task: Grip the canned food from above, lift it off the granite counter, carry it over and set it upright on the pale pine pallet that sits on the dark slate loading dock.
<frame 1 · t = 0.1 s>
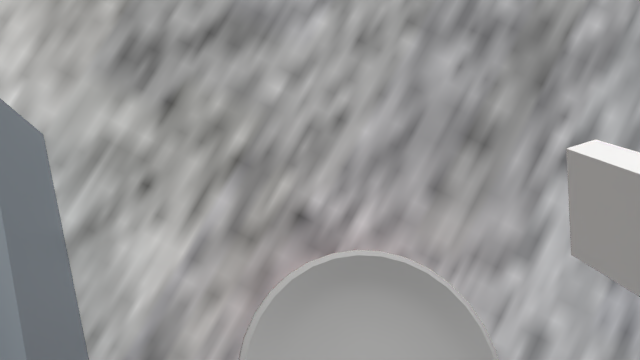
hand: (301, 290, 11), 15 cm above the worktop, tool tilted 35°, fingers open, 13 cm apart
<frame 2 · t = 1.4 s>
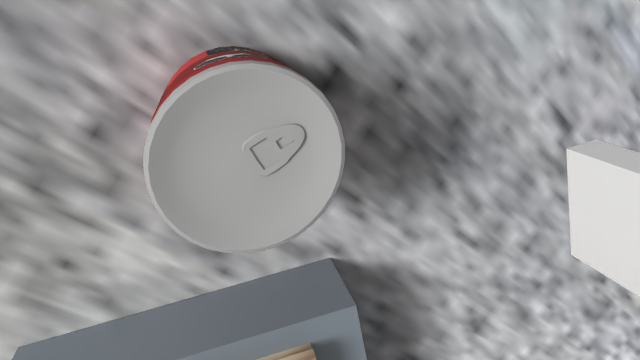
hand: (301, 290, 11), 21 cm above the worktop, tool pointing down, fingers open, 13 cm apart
canned food: (230, 112, 30), on the worktop
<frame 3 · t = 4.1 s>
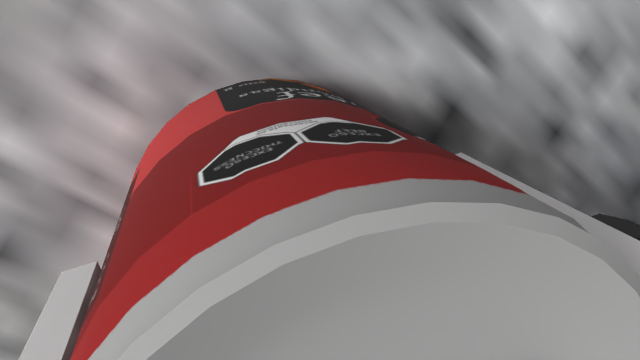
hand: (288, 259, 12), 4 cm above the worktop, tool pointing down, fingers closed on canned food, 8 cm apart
canned food: (262, 197, 16), on the worktop, touching gripper
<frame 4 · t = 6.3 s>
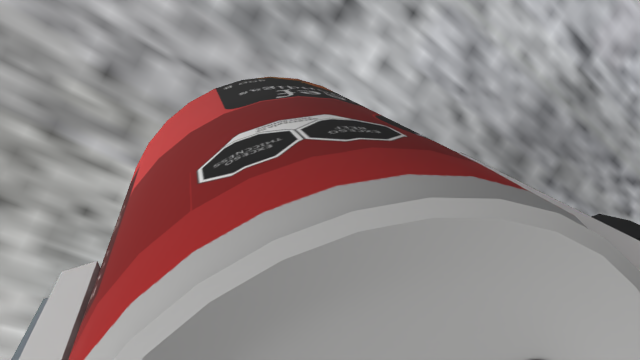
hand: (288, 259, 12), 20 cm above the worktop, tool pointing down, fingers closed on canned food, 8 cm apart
dock: (236, 334, 35), on the worktop
canned food: (262, 196, 16), point 15 cm above the worktop, touching gripper
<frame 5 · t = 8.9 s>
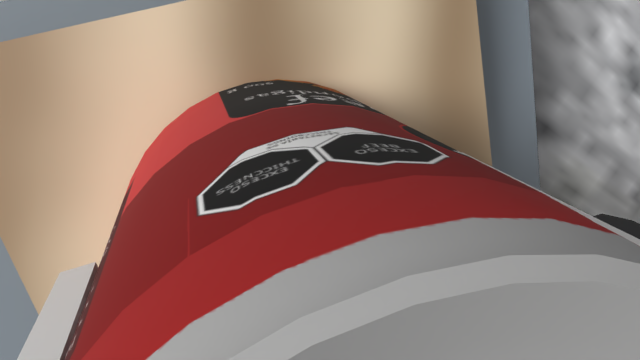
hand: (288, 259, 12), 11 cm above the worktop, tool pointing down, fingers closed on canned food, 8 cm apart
dock: (245, 143, 22), on the worktop
pallet: (264, 187, 17), resting on dock
canned food: (268, 207, 15), point 8 cm above the worktop, touching gripper, pallet
when the fingers open (11 cm above the worktop, at t = 9.6 s): canned food stays where it is, resting on pallet.
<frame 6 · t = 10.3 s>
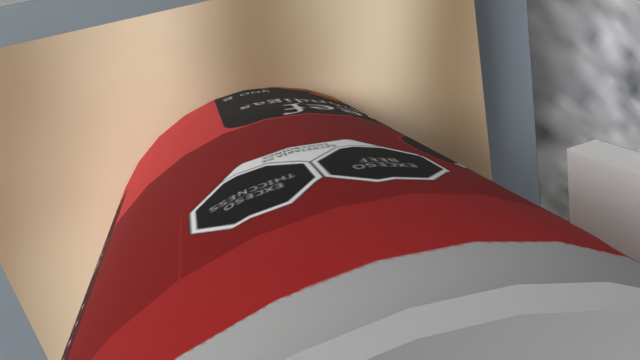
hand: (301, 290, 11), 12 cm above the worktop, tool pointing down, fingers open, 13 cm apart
dock: (242, 149, 22), on the worktop
pallet: (261, 194, 16), resting on dock
canned food: (265, 215, 15), point 8 cm above the worktop, touching pallet
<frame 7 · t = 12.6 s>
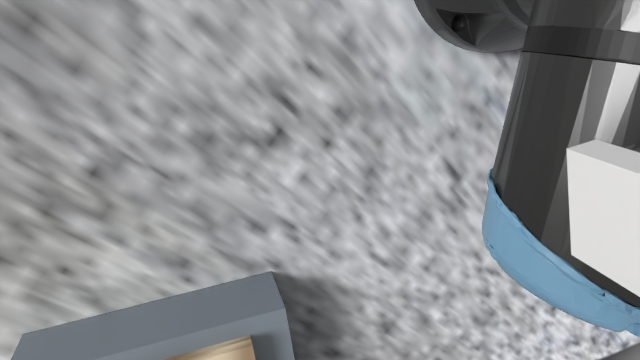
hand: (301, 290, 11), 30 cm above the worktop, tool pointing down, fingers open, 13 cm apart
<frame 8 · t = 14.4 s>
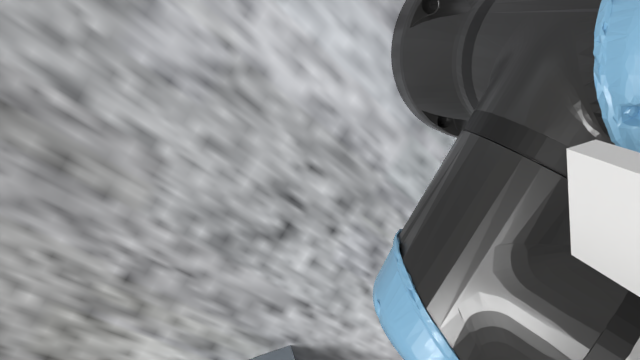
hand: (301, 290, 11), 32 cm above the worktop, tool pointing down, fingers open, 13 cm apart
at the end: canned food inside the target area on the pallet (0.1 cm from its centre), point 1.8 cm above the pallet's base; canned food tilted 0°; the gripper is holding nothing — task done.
